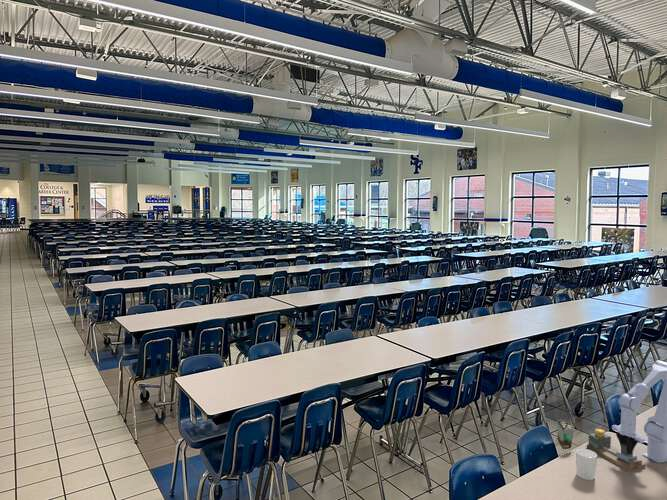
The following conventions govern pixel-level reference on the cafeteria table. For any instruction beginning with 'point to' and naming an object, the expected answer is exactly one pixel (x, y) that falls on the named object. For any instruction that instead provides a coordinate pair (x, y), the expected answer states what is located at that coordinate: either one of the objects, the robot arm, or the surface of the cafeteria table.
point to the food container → (565, 434)
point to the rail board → (611, 452)
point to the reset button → (599, 432)
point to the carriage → (625, 454)
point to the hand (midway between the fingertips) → (626, 451)
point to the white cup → (586, 463)
